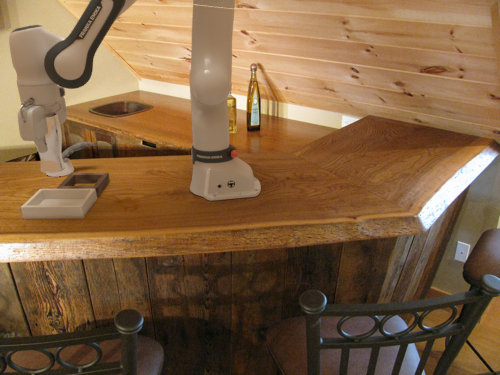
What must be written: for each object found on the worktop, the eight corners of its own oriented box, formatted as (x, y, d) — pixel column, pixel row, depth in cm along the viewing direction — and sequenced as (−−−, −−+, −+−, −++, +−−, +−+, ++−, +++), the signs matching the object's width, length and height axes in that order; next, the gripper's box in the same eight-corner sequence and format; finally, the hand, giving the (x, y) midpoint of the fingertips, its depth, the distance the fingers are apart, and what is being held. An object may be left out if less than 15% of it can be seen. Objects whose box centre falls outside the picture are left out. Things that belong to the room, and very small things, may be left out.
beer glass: (59, 162, 114) (50, 110, 108) (72, 168, 110) (63, 114, 104) (34, 169, 109) (23, 114, 103) (46, 175, 105) (36, 119, 99)
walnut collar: (109, 181, 133) (108, 172, 131) (98, 196, 122) (97, 187, 121) (72, 181, 132) (71, 172, 131) (58, 197, 121) (56, 188, 120)
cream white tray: (97, 199, 120) (95, 188, 119) (83, 218, 109) (81, 206, 108) (42, 199, 120) (40, 188, 118) (23, 218, 109) (20, 207, 107)
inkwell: (45, 169, 142) (40, 142, 138) (99, 162, 149) (95, 136, 144) (45, 178, 134) (39, 150, 130) (102, 171, 141) (98, 143, 137)
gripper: (33, 103, 92) (45, 160, 98) (67, 87, 111) (75, 136, 116) (5, 103, 92) (18, 160, 97) (43, 87, 110) (53, 136, 116)
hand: (49, 147), depth 107 cm, fingers closed on beer glass, 6 cm apart
